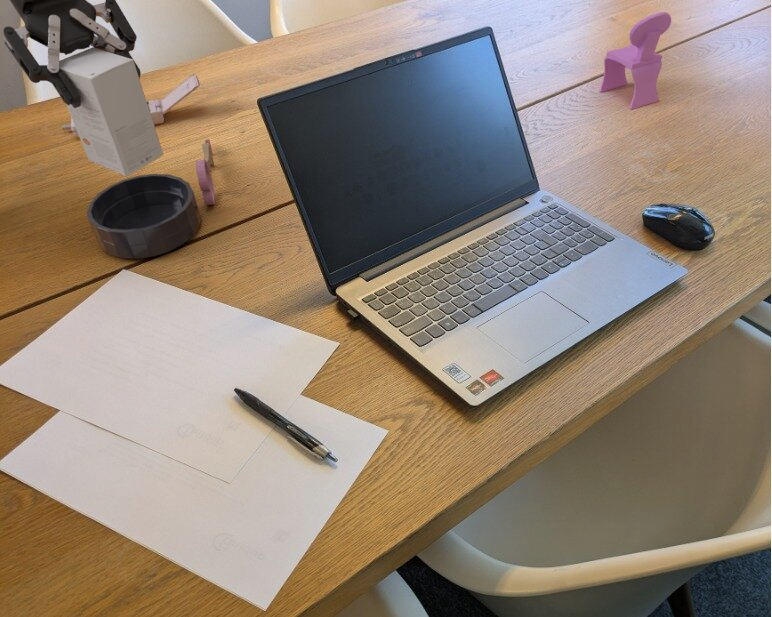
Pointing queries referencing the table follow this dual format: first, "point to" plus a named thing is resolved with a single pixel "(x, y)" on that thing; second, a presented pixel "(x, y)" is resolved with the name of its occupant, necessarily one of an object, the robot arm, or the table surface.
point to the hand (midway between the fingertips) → (108, 93)
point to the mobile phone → (161, 102)
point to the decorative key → (206, 174)
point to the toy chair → (638, 60)
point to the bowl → (144, 216)
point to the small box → (111, 111)
